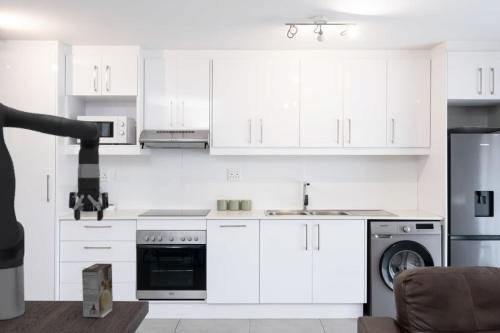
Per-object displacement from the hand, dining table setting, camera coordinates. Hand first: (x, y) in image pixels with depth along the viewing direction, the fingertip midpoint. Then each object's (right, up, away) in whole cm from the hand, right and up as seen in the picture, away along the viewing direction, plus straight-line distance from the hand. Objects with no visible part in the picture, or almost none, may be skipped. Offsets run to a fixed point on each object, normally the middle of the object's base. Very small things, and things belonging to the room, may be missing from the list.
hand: (88, 220), depth 141 cm
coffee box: (+6, -32, -6) cm, 33 cm away
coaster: (+6, -32, -6) cm, 33 cm away
